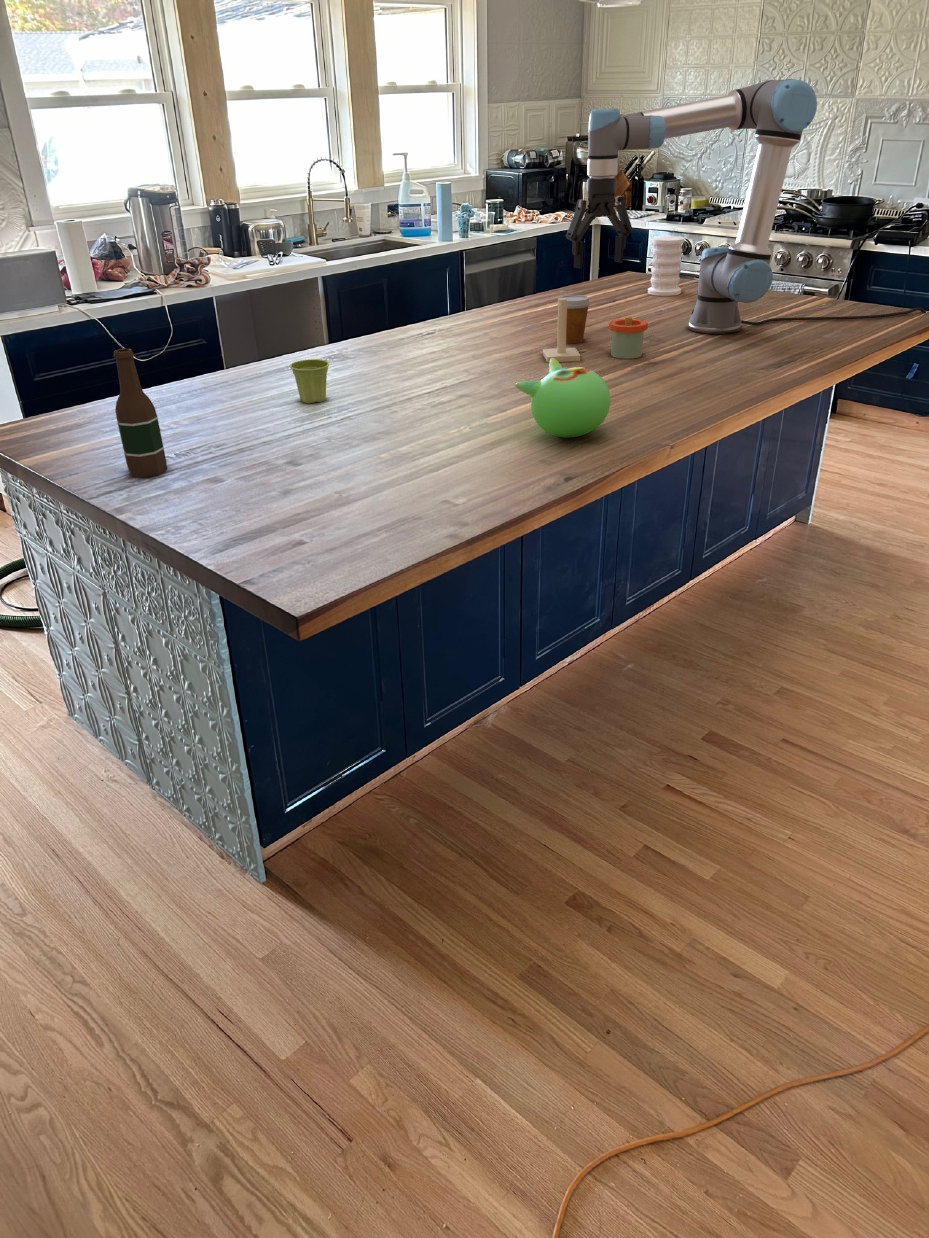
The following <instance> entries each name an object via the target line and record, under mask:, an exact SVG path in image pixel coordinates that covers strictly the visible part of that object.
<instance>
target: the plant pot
mask: <svg viewBox="0 0 929 1238" xmlns="http://www.w3.org/2000/svg"><path fill="white" fill-rule="evenodd" d="M329 366H330V362H329V361H327V360H324V359H318V358H317V359H316V358H312V359H309V358H308V359H302V360H301V359H300V360H296V361H293V362H292V363H290V364H289V368H290V369H291V370H292V374H293V375H294V380H295V383H296V387H297V391H298V395H299V400H300V401H301V402H302V403H306V404H314V403H316V402H318V403H322V402H324V401H326V399H327V378H328V377H327V375H328V371H329Z"/></svg>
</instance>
